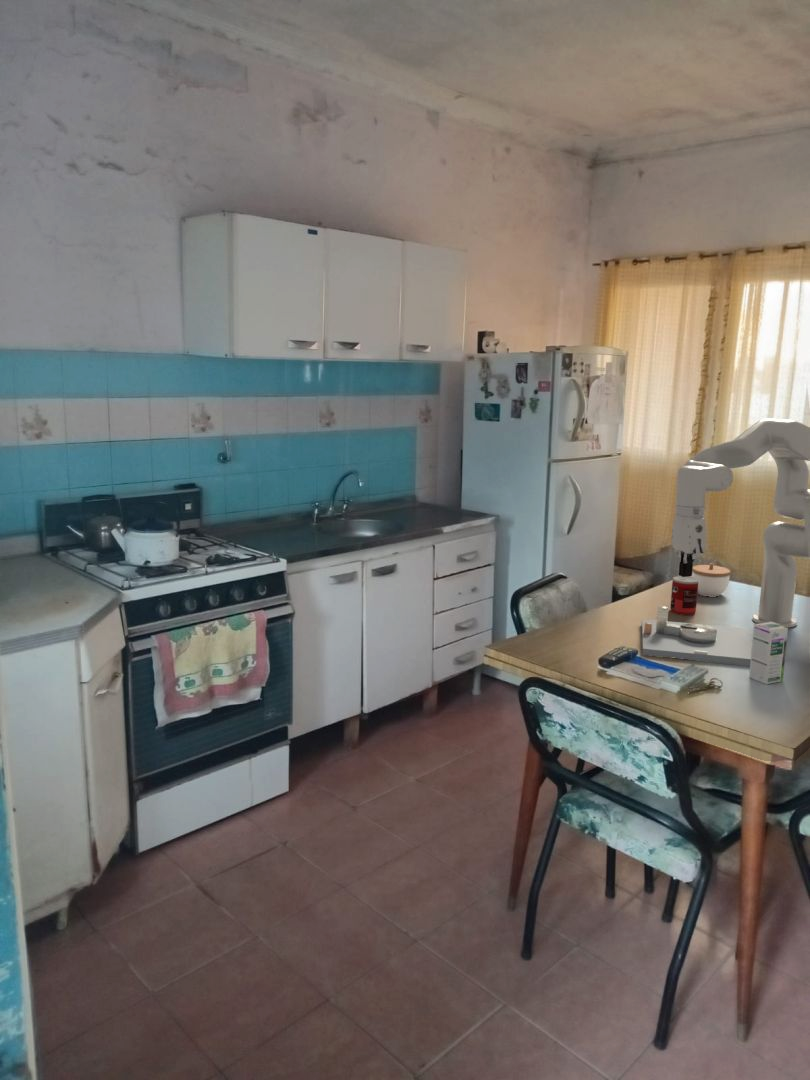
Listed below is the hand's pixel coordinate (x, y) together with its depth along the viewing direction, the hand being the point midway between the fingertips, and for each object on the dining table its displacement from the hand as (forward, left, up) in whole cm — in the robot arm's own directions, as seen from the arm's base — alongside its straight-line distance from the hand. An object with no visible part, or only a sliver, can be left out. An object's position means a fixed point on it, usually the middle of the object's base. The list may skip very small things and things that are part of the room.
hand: (685, 575), depth 229 cm
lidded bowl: (-61, +13, -21) cm, 66 cm away
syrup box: (+20, +20, -21) cm, 35 cm away
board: (-3, +5, -21) cm, 21 cm away
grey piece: (-3, +2, -18) cm, 19 cm away
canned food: (-36, +3, -21) cm, 42 cm away
